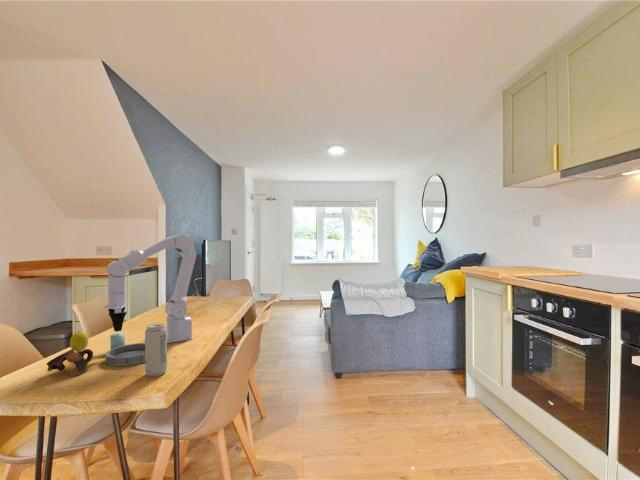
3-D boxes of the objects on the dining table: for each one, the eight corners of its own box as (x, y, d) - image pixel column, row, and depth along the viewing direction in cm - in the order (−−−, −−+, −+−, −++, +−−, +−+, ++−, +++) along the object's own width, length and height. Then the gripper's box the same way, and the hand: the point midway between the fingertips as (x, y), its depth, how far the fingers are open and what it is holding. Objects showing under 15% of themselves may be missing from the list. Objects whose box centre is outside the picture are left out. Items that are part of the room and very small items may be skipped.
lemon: (78, 355, 119) (78, 333, 119) (66, 354, 120) (65, 332, 120) (92, 350, 124) (91, 329, 124) (79, 349, 126) (79, 328, 126)
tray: (154, 347, 127) (154, 340, 127) (160, 359, 114) (160, 351, 114) (105, 355, 118) (105, 348, 118) (106, 370, 105) (105, 361, 105)
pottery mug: (64, 383, 97) (49, 360, 97) (52, 391, 101) (38, 368, 101) (104, 359, 108) (90, 338, 107) (91, 367, 112) (78, 347, 112)
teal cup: (124, 347, 127) (124, 332, 127) (125, 351, 123) (125, 335, 123) (110, 350, 125) (110, 334, 125) (110, 353, 121) (110, 337, 121)
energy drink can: (150, 369, 105) (150, 323, 105) (170, 369, 106) (169, 322, 106) (141, 377, 99) (141, 328, 99) (162, 377, 100) (161, 327, 100)
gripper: (104, 291, 128) (104, 326, 128) (104, 296, 116) (105, 335, 116) (125, 289, 132) (125, 323, 132) (127, 294, 120) (128, 331, 120)
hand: (117, 328), depth 124 cm, fingers open, 7 cm apart
